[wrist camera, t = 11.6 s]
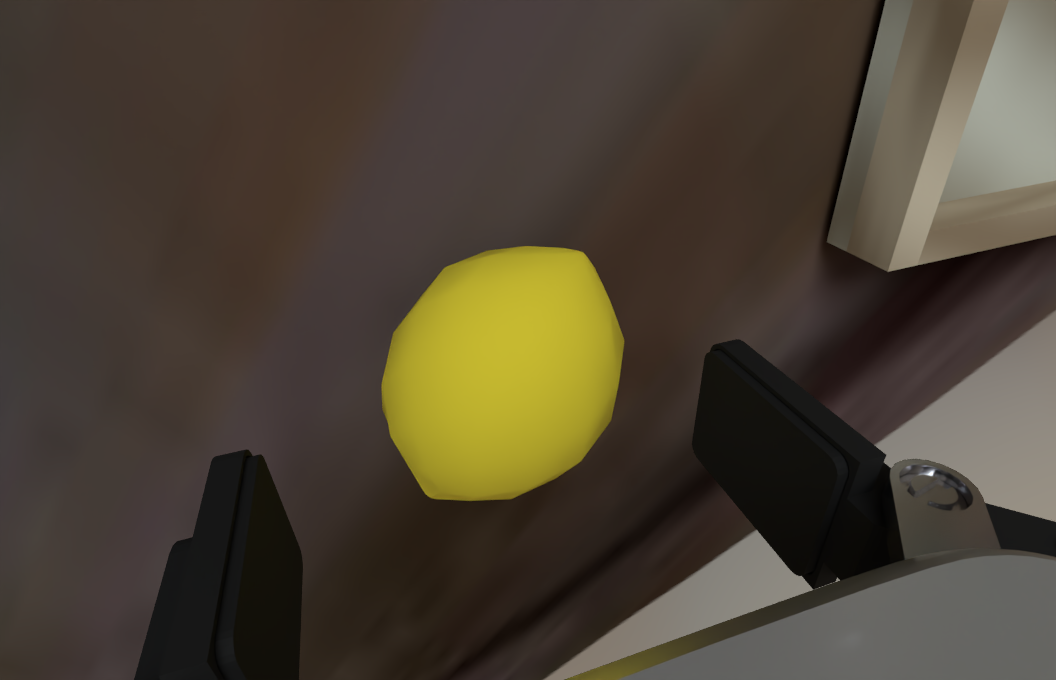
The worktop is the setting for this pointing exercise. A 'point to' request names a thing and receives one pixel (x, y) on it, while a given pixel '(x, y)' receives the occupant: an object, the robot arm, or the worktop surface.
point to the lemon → (503, 373)
